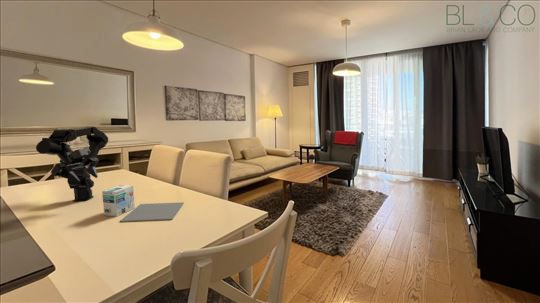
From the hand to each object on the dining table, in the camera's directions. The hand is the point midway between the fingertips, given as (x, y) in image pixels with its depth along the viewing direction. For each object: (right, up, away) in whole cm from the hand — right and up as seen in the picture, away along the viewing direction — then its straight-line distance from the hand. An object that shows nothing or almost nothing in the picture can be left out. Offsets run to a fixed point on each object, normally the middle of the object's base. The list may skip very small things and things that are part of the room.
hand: (88, 179), depth 112 cm
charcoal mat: (+31, -14, -3) cm, 35 cm away
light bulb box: (+16, -14, -2) cm, 21 cm away
